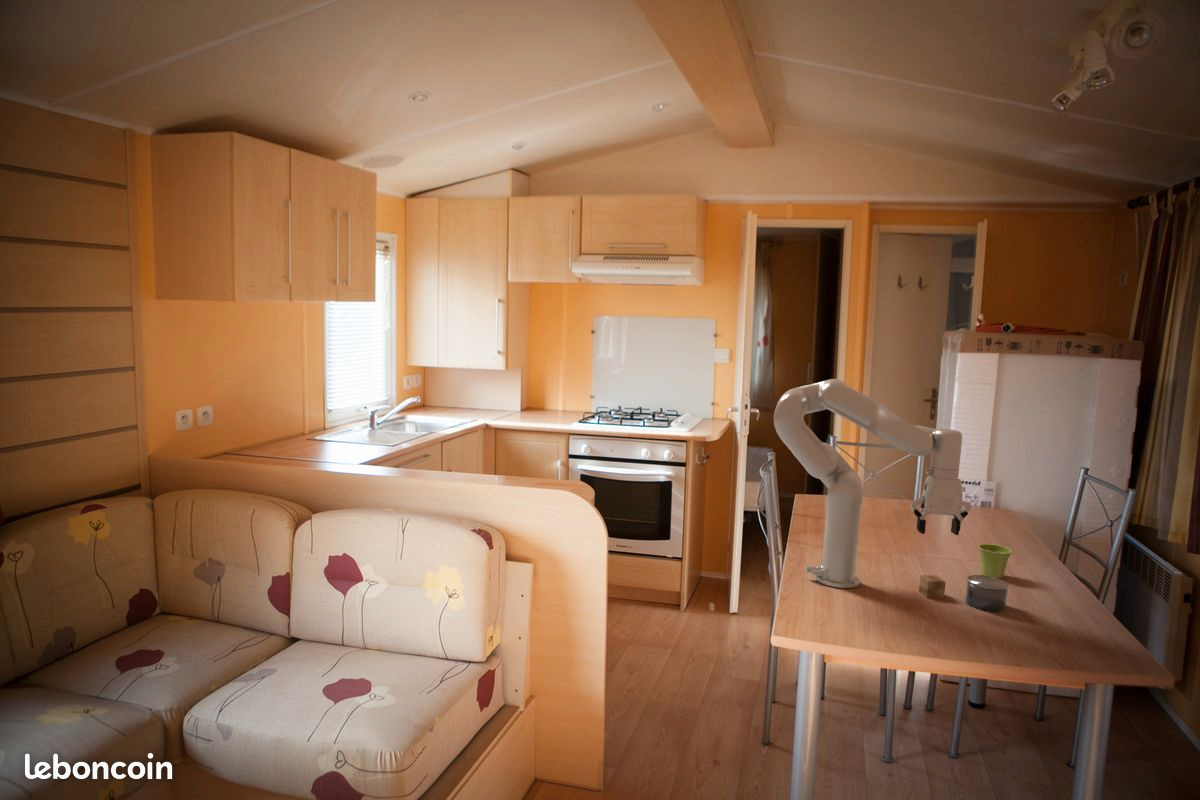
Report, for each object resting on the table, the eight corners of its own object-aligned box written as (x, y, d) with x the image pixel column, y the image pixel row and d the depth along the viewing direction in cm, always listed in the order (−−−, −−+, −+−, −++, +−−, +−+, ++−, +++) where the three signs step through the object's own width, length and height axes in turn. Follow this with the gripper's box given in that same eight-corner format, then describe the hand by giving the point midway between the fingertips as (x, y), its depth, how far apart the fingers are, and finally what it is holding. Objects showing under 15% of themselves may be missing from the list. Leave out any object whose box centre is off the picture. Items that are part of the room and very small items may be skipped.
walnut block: (926, 598, 227) (928, 581, 226) (918, 591, 232) (920, 575, 231) (943, 598, 227) (945, 581, 227) (935, 592, 232) (937, 575, 231)
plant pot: (990, 581, 244) (993, 553, 243) (968, 571, 253) (971, 544, 252) (1016, 580, 246) (1019, 552, 245) (993, 569, 255) (996, 543, 254)
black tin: (976, 612, 218) (979, 587, 217) (958, 598, 228) (960, 574, 227) (1013, 613, 218) (1016, 588, 217) (993, 599, 228) (996, 575, 228)
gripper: (919, 475, 221) (913, 536, 223) (980, 477, 222) (974, 538, 224) (907, 469, 229) (902, 528, 231) (967, 471, 229) (961, 530, 231)
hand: (937, 533), depth 227 cm, fingers open, 9 cm apart
